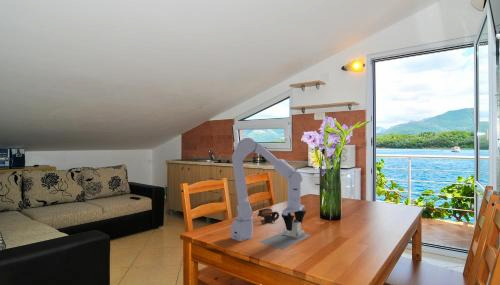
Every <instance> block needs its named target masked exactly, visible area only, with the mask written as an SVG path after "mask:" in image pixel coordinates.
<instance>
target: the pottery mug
mask: <svg viewBox="0 0 500 285" xmlns="http://www.w3.org/2000/svg"><path fill="white" fill-rule="evenodd" d="M258 217H261V218H263V219H261V220H260V222H261V225H267V224H269V223H270V224H271V223H272V224H273V223H275V222H276V221H277V220H278V219H279V218H280V213H279V212H278V211H273V209H271V208H262V209H259V210H258V213H257V218H258Z"/></svg>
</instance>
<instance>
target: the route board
mask: <svg viewBox="0 0 500 285" xmlns="http://www.w3.org/2000/svg"><path fill="white" fill-rule="evenodd" d="M283 234H284V231H282V232H280V233H278V234H275V235H272V236H270V237H267V238H265V239H263V240H260V241H259V243H261V244H264V245H268V246H271V247H273V248H277V249H280V250H284V249H287V248H288V247H290V246H293V245H294V244H297V243H299V242H300V241H303V240H305V239H307V238H309V237H311V236H312V234H311V235H310V234H308V233H304V234H305V236H302V237H300V238H298V239H296V238H292V237H288V236H284V235H283Z"/></svg>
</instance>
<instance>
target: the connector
mask: <svg viewBox="0 0 500 285" xmlns="http://www.w3.org/2000/svg"><path fill="white" fill-rule="evenodd" d="M301 230H302V224H301V222H297V220H296V219H295V218H294V219H293V222H292V230H291V231H290V235H294V236H296V232H298V231H301Z"/></svg>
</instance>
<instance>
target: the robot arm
mask: <svg viewBox="0 0 500 285" xmlns="http://www.w3.org/2000/svg"><path fill="white" fill-rule="evenodd" d="M251 153H254V154H259V155H261V156H262V157H263V158H265V159H266V160H267V161H268V162H269V163H271V164H272V165H273V170H275V171H276V172H277V173H278V174H279V175H280V176H281V177H283V178H285V179H286V181H287V206H286V208H284V209H283V210H282V213H281V218H282V220H283V222H284V224H285V229H287V230H288V231H291V230H292V222H293V221H294V220H295V219H296V220H297V222H301V225H302V224H303V220H304V217H305V215H306V213H307V211H306V210H305V209H306V207H305V206H306V205H304V204H301V203H302V201H301V198H302V197H301V193H302V192H301V183H302V181H303V176H302V174H301V173H300V172H299V171H297V170H296V168H295V167H294V166H291V165H290V164H289V163H288V161H287V160H286V159H282V158H281V159H280V158H279V159H278V158H277V157H276V156H275V155H274V154H273V153H271V151H269V150H268V149H267V148H266V147H265V146H264V145H262V144H261V143H259V142H257V141H255V140H254V139H253V138H251V137H244V138H242V139H241V140H240V141H239V142H237V146H236V147H235V150H234V151H233V153H232V156H231V162H232V167H233V168H232V169H233V174H234V182H235V187H236V188H235V189H236V196H237V206H236V211H237V216H235V218H236V219H235V220H234V221H232V223H231V224H230V239H232V240H235V241H238V242H243V241H247V240H250V239H252V238H254V236H253V235H254V233H253V232H254V226H253V224H254V222H253V221H254V218H253V214H254V213H253V209H252V207H251V204H250V201H249V195H248V188H247V181H246V176H245V174H246V173H245V168H244V167H245V166H244V160H245V158H246V157H247V156H248V155H249V154H251ZM292 213H293V214H294V215H292Z"/></svg>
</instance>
